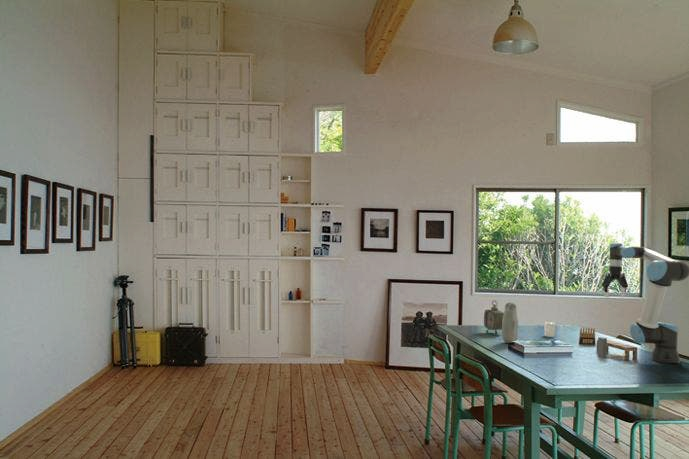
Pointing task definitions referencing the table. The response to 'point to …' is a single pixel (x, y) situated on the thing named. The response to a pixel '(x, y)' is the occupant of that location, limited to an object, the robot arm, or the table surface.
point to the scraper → (605, 349)
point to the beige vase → (510, 323)
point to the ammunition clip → (587, 336)
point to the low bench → (622, 347)
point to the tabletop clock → (493, 319)
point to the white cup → (549, 329)
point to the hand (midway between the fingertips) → (614, 297)
